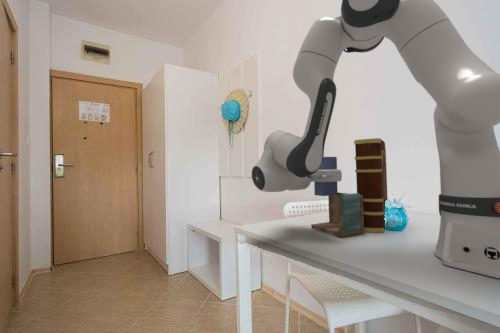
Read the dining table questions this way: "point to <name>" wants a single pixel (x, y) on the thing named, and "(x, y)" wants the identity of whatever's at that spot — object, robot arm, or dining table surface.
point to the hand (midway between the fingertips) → (327, 174)
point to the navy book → (326, 187)
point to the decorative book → (372, 182)
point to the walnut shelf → (344, 216)
